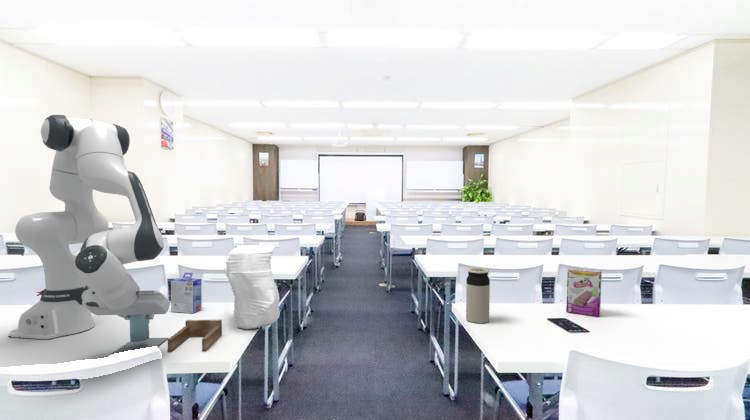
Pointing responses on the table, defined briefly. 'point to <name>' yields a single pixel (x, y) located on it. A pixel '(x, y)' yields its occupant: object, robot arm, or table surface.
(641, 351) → the table surface
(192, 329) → the holder
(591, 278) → the candy bar box
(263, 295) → the white crumpled mass
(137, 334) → the pale blue domed cylinder
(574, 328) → the smartphone
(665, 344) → the table surface
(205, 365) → the table surface
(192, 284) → the ink cartridge box
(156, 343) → the mat
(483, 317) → the travel mug
